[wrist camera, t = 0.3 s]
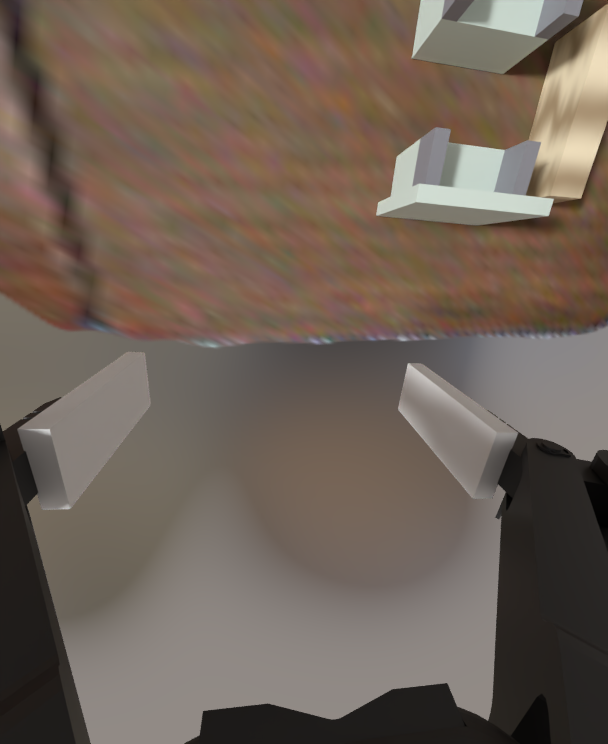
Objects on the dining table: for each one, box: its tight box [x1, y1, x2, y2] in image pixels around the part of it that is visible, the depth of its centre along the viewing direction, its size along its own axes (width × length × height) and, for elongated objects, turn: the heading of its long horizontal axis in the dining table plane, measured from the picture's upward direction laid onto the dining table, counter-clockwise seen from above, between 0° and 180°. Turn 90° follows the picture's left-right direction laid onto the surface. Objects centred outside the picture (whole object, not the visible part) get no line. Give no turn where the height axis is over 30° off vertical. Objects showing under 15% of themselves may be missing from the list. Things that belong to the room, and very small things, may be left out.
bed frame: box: [376, 0, 583, 226], centre depth 26 cm, size 22×14×20 cm, turn 176°
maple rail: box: [526, 4, 608, 203], centre depth 34 cm, size 16×4×6 cm, turn 177°
